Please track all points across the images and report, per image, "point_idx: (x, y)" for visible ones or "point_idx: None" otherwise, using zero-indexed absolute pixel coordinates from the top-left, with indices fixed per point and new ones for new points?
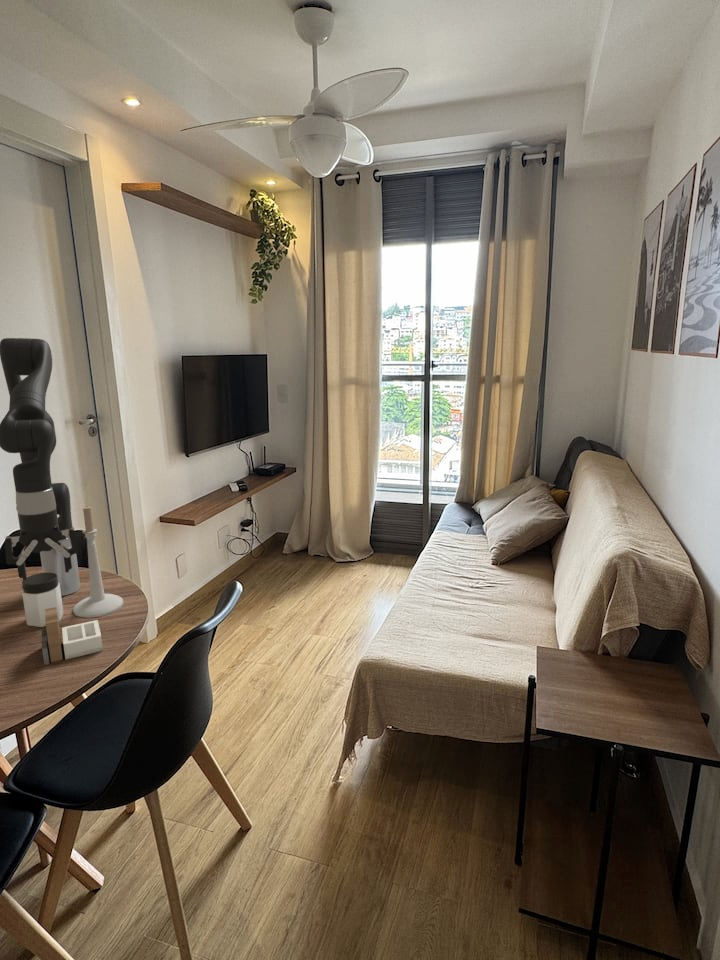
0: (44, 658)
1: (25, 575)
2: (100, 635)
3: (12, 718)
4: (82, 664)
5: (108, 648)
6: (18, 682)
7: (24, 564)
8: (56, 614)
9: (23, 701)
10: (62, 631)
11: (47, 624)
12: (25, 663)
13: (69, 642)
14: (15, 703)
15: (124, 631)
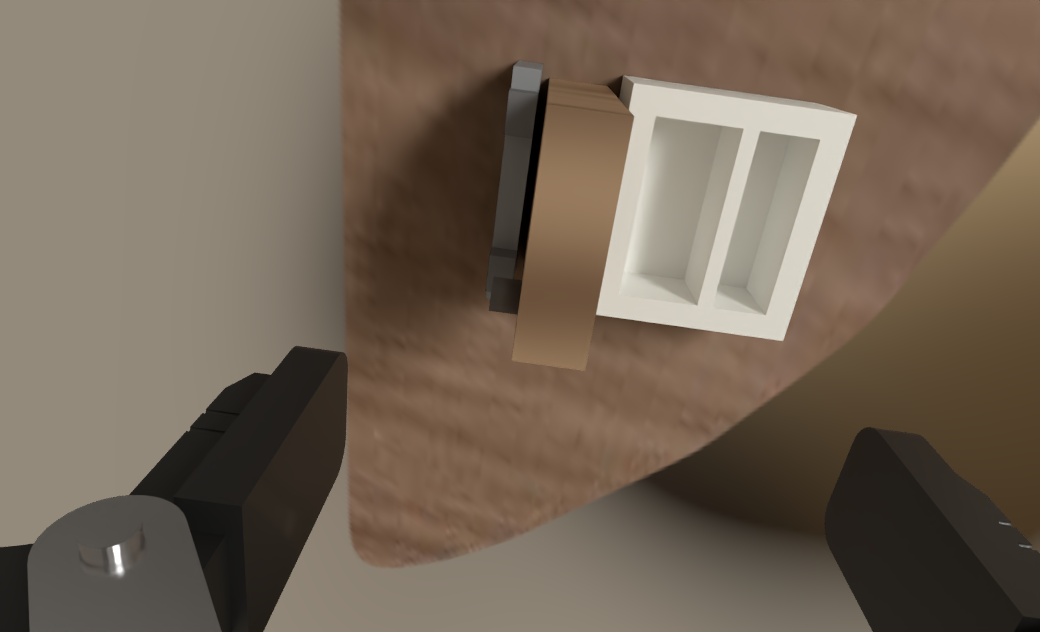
0: None
1: (316, 508)
2: (781, 335)
3: (360, 545)
4: (638, 364)
5: None
6: (382, 342)
7: (251, 602)
8: (602, 263)
9: (396, 478)
10: None
11: (522, 358)
12: (417, 191)
13: (622, 311)
14: (370, 474)
15: (937, 165)
